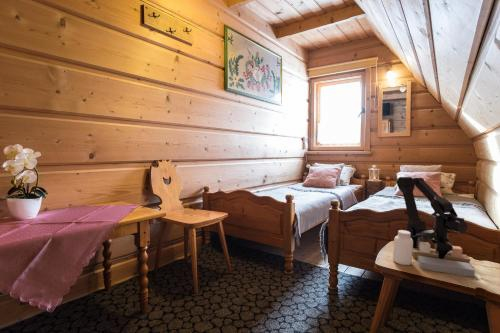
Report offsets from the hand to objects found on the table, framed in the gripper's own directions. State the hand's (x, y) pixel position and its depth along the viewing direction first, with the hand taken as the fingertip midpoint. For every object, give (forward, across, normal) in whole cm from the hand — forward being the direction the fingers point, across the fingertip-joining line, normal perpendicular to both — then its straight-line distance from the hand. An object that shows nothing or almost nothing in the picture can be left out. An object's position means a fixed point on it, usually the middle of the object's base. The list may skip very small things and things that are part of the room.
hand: (439, 257), depth 139 cm
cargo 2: (-2, 0, +6) cm, 7 cm away
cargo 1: (-2, 0, -6) cm, 7 cm away
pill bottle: (+1, +10, -17) cm, 20 cm away
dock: (+1, +11, 0) cm, 11 cm away
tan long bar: (+1, 0, 0) cm, 1 cm away
